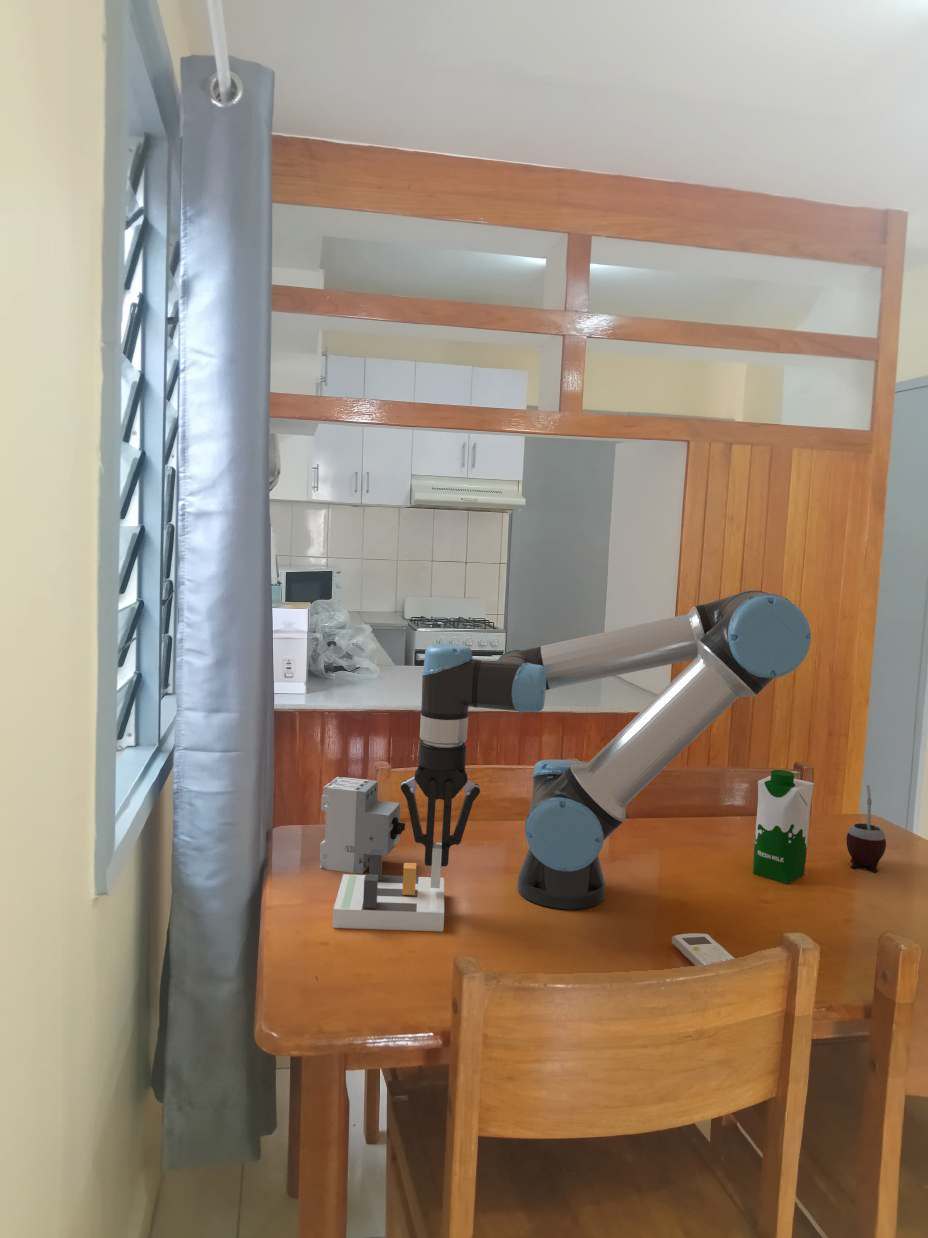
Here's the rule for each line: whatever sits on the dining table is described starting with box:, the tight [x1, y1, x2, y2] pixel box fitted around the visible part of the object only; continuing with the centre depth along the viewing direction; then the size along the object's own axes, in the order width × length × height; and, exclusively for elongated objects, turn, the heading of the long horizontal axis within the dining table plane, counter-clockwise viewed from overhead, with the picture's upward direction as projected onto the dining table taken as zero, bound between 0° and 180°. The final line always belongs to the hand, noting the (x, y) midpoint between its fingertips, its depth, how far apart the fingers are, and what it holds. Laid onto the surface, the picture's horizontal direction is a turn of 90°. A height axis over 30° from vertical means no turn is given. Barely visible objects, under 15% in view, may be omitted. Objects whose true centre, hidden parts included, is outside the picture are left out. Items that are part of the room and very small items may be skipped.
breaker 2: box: [363, 873, 378, 908], centre depth 138 cm, size 2×2×4 cm
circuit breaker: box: [319, 776, 406, 875], centre depth 162 cm, size 8×14×15 cm, turn 78°
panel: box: [332, 873, 445, 932], centre depth 144 cm, size 17×14×3 cm
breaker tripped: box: [402, 862, 417, 895], centre depth 144 cm, size 2×2×4 cm
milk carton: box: [752, 769, 815, 885], centre depth 167 cm, size 9×9×20 cm
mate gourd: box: [846, 784, 887, 874], centre depth 174 cm, size 8×8×15 cm
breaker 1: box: [368, 849, 384, 881], centre depth 149 cm, size 2×2×4 cm
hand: (435, 884), depth 144 cm, fingers closed
